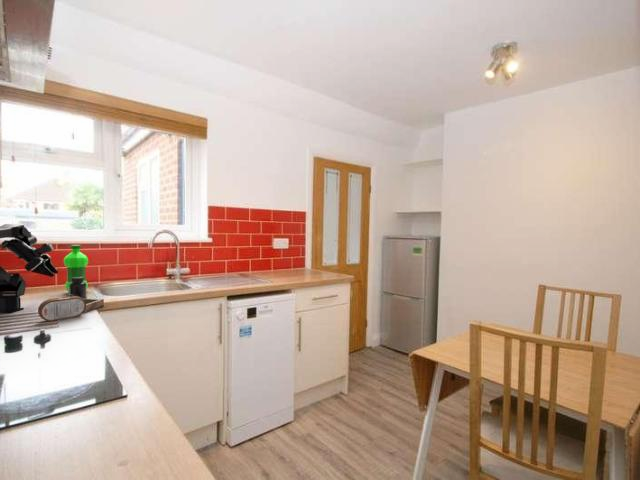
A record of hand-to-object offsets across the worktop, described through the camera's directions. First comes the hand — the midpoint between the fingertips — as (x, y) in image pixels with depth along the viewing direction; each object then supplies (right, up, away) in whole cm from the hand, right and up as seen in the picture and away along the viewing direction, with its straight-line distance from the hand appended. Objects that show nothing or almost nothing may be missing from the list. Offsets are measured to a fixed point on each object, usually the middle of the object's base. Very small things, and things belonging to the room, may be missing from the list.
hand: (55, 274), depth 150 cm
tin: (+19, -15, -20) cm, 31 cm away
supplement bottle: (+7, -14, +5) cm, 16 cm away
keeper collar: (+15, -14, -6) cm, 22 cm away
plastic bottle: (-8, -12, +24) cm, 28 cm away
